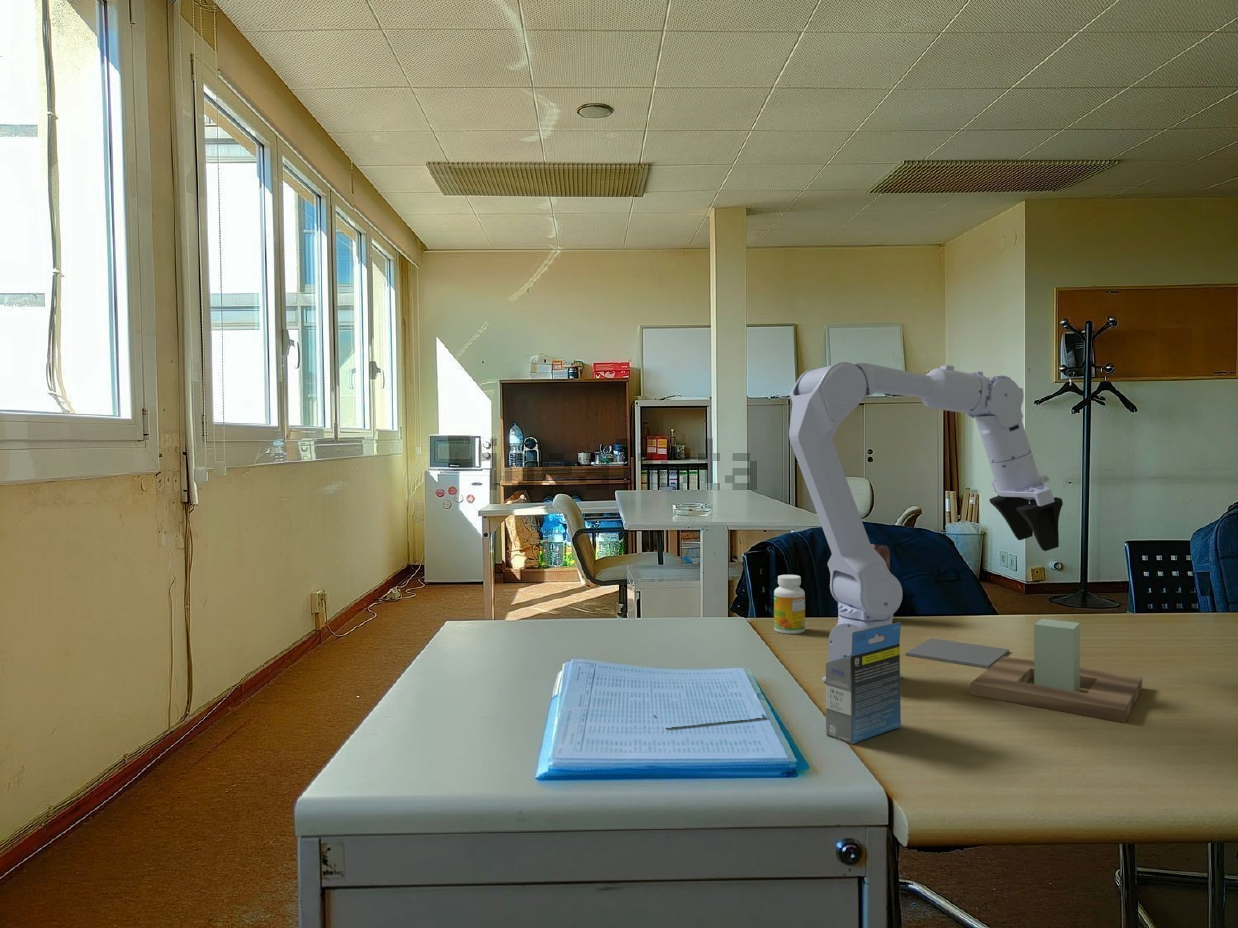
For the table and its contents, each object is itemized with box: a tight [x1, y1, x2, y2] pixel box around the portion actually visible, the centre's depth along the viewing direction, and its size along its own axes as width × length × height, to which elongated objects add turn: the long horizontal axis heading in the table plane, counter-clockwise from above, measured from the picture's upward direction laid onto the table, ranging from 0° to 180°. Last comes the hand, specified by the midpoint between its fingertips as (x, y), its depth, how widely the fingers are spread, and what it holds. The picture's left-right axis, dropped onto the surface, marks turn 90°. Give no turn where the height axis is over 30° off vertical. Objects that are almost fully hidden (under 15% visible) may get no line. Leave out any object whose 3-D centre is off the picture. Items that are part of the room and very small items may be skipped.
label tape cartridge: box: [825, 621, 902, 745], centre depth 88 cm, size 9×4×12 cm, turn 126°
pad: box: [905, 638, 1010, 669], centre depth 122 cm, size 12×12×1 cm
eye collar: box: [969, 655, 1143, 724], centre depth 103 cm, size 17×17×2 cm
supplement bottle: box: [773, 574, 806, 635], centre depth 138 cm, size 5×5×10 cm
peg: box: [1033, 618, 1081, 692], centre depth 103 cm, size 4×4×9 cm
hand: (1037, 543), depth 114 cm, fingers open, 7 cm apart
